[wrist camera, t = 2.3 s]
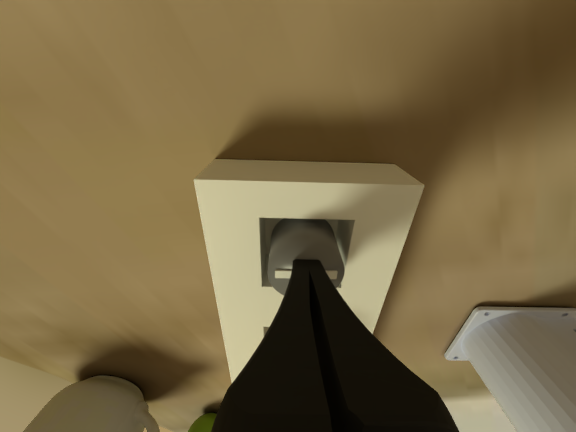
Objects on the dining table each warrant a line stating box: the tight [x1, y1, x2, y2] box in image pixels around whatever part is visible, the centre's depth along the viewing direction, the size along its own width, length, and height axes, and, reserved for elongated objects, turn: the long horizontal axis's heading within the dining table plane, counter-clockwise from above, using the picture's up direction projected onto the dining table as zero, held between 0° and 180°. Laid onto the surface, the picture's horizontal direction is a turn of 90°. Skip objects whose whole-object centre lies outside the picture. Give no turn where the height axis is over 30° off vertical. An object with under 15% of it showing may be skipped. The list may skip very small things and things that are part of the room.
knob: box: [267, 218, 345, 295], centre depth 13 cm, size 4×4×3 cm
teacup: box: [23, 375, 160, 432], centre depth 24 cm, size 14×11×8 cm
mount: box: [194, 159, 425, 383], centre depth 19 cm, size 11×27×4 cm, turn 178°
